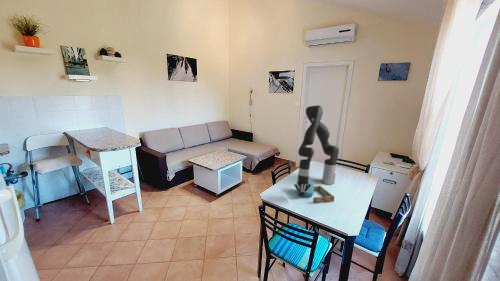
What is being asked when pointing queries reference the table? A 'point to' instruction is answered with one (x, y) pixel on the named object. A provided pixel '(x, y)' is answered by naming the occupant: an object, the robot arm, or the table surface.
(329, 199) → the brown wooden u shape
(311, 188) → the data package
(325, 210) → the table surface
